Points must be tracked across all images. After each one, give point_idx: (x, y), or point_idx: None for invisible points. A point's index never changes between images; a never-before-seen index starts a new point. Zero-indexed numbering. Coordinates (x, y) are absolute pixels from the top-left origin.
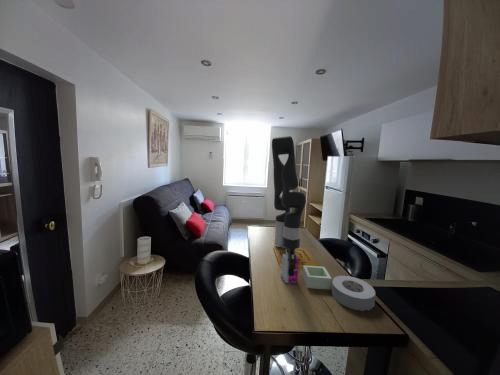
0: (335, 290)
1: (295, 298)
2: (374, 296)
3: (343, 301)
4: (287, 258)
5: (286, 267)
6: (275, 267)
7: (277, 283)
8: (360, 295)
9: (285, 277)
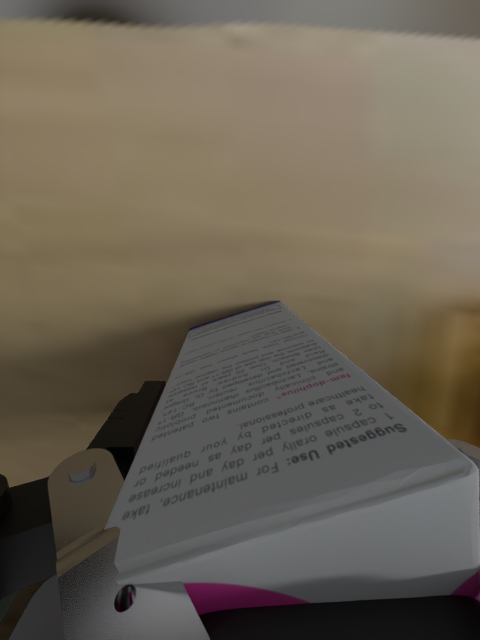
0: (62, 628)
1: (29, 368)
2: None
3: (33, 606)
4: (106, 621)
5: (178, 397)
6: (429, 271)
7: (191, 262)
8: None
9: (200, 337)
